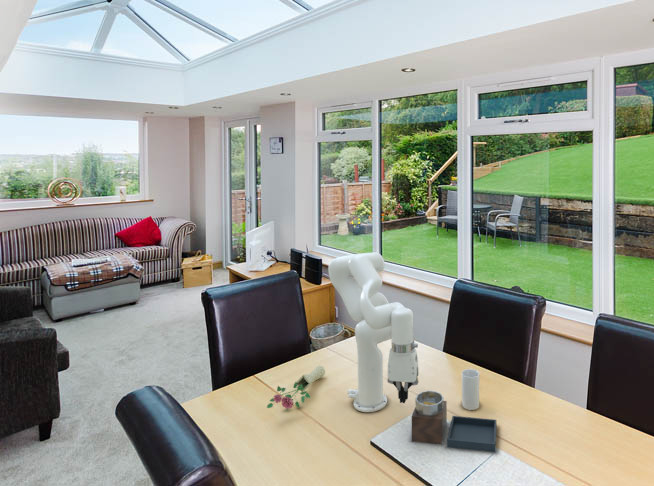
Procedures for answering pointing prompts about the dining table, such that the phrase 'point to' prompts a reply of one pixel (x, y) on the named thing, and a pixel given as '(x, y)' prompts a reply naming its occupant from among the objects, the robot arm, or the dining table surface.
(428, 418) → the block
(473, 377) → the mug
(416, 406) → the bowl
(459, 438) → the tray
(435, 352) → the dining table surface
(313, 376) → the flower vase
